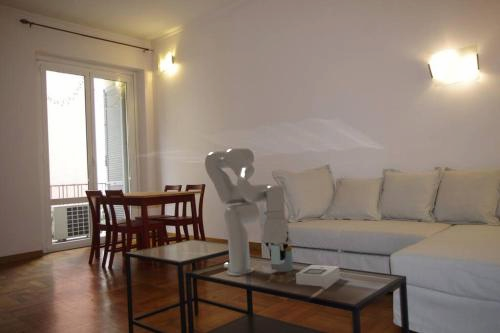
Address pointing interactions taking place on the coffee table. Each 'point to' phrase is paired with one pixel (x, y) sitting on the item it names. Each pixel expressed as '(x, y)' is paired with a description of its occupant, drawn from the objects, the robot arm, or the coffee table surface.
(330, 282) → the panel
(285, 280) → the square wooden tray
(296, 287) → the coffee table surface
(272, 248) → the plug
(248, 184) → the robot arm
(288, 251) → the bottle
